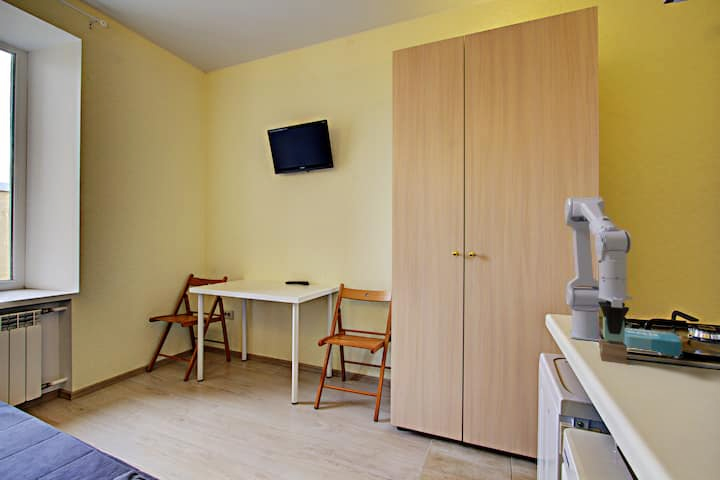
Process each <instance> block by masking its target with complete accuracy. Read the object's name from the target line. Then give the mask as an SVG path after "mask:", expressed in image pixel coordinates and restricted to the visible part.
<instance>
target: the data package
mask: <svg viewBox="0 0 720 480" xmlns="http://www.w3.org/2000/svg"><path fill="white" fill-rule="evenodd" d="M624 328H625V342H624V343H625V345H626V346H627V348H637V349H643V350H652V351H657V352H660V353H662V354H665V355H668V356H680V355H681V354H682V355H683V341H682V340H681V339H680V338H679V336H678V335H677V334H676V333H674V332H668V331H659V330H650V329H641V328H631V327H624Z"/></svg>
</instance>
